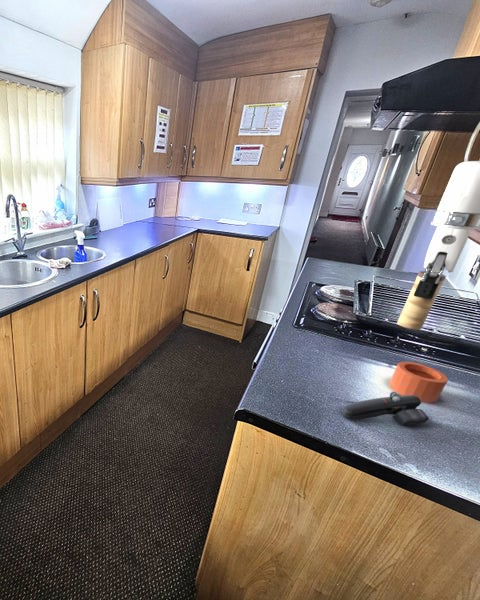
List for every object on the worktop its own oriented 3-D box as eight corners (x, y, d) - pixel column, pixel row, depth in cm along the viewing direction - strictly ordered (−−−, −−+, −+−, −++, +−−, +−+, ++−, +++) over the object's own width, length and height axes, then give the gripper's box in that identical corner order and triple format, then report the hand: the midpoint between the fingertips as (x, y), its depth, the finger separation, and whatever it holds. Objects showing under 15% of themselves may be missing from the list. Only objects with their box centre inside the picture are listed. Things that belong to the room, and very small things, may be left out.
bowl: (423, 387, 87) (434, 365, 84) (444, 409, 79) (457, 385, 77) (381, 380, 90) (391, 358, 87) (398, 400, 82) (409, 377, 80)
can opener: (402, 405, 80) (411, 387, 77) (430, 427, 73) (441, 407, 71) (330, 407, 79) (337, 388, 77) (353, 429, 73) (361, 409, 71)
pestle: (415, 323, 85) (438, 272, 80) (425, 331, 81) (450, 278, 76) (393, 320, 87) (415, 270, 81) (402, 328, 83) (425, 275, 77)
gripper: (484, 226, 66) (444, 308, 73) (479, 218, 77) (444, 291, 84) (432, 221, 71) (399, 298, 78) (434, 215, 82) (405, 283, 89)
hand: (423, 294), depth 81 cm, fingers closed on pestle, 4 cm apart
